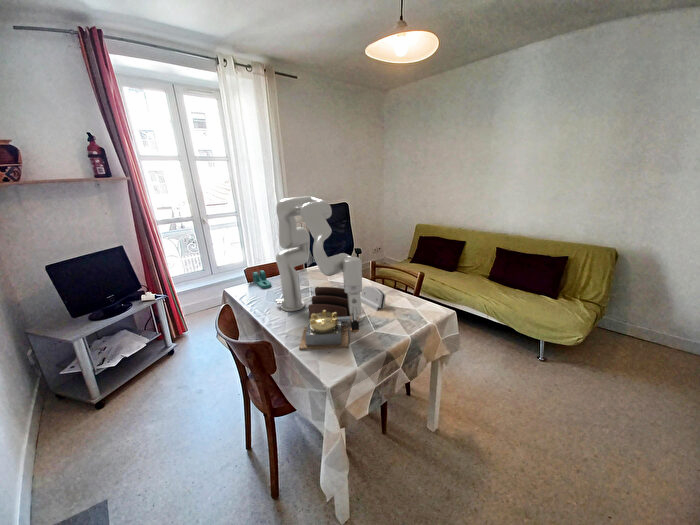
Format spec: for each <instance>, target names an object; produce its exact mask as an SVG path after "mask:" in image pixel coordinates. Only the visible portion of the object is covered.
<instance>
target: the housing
mask: <svg viewBox="0 0 700 525" xmlns="http://www.w3.org/2000/svg"><path fill="white" fill-rule="evenodd" d="M342 324H343V323H342V322H338V327H337V328H336V329H334V330H333V331H330V332H325V333H319V332H315V331H313V330H312V329H311V328H310V320H308V324H307V326H305V327H304V328H303V333H302V335H301V339H300V343H299V347H298V350H299V349H310V350H329V349H331V350H333V349H348V348H350V347H349V346H350V345H349V325H348V324H346V325H342Z"/></svg>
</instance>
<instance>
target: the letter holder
mask: <svg viewBox="0 0 700 525" xmlns="http://www.w3.org/2000/svg"><path fill="white" fill-rule="evenodd" d="M307 307H308V308H307V309H308V318H309V320H310V318H311V314H312V313H314V314H317V313H321V312H323V310H326V312H331V313H334V312H336V313H337V316H338V317H347V316H350V313H349V307H348V296H347V293H345V292H344V287H342V288H341V287H335V286H317V287H315V288H314V295H313V296H312V297H311V303H310V304H308V306H307ZM348 323H349V321H344V322H342V324H348Z"/></svg>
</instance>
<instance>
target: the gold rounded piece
mask: <svg viewBox="0 0 700 525" xmlns="http://www.w3.org/2000/svg"><path fill="white" fill-rule="evenodd" d="M356 314H357V313H356ZM353 318H354V316H353ZM359 318H360V317H359V315H358V321H359V322H360V319H359ZM309 321H310V328H311V329H312V330H313V331H315V332H319V333H325V332H330V331H333V330H334V329H336V328H337V327H338V322H344V321H348V322H349V323H351V321H352V317H351V316H347V317H338V316H337V313H336V312H334V313H331V312H326V310H323V312H321V313H317V314H314V313H312V314H311V318H310V319H309ZM350 331H351V332H352V333H357V332H359V331H360V329H359V330H352V329H351V328H350Z"/></svg>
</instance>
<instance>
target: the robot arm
mask: <svg viewBox="0 0 700 525" xmlns="http://www.w3.org/2000/svg"><path fill="white" fill-rule="evenodd" d="M275 208H276V209H275V210H276V216H277V220H278V221H277V222H278V243H279V246H280V248H281V249H284V250H281V251H279V252H278V253H277V254H276V256H275V262H276V265H277V269H278V272H279V278H280V285H281V292H282V298H281V299H280V298H279V299H275V304H276V305H281V306H280V307H281V308H280V309H281V310H282V311H284V312H297V311H299V310H301V309H303V308H305V301H304V300H303V299H302V293H301V292H302V291H301V285H300V284H301V283H300V275H299V272H298V271H297V270H296V269H295V267H297V266H301V265H304V264H307V262H308V260H309V258H310V247H311V246H310V244H311V242H310V240H311V239H310V238H311V237H310V234H311V236H312V238H313V244H312V255H313V260H314V261H315V263H316V265H317V267H318V269H319V271H320V272H321V273H322V274H323V275H324V276H326V277H332V276H335V275H337V274H340V273H343V274H342V275H343V289H344V292H345V293H347V296H348V307H349V313H350V316H351V317H352V321H351V322H350V330H351V329H352V330H359V331H360V320H359V321H358V315H359V316H361V317H362V316H363V315H362V302H361V296H360V295H361V292H362V290H363V272H362V270H363V267H362V260H361V258H360V257H358V256H351V255H349V254H347V253H345V252H342V253H341V252H340V253H338V254H334V255H332V256H328V255H327V254H326V251H325V250H324V242H325V241H326V240H327V239H329V237H330V236H331V234H332V230H333V229H332V227H331V226H330V224H329V223H328V220H327V219H330V218H331V216H332V215H333V213H332V212H333V210H332V206H331V205H330V203H328V202H327V201H326V200H324V199H320V198H317V197H314V196H310V195H308V196H307V195H306V196H296V197H287V198H282V199H280V200H279V201H278V202H277V204H276V207H275ZM299 216H301V218H302V220H303V222H304V223H305V225H306V227H307V228H305V227H303V226H299V227H298V225H297V223H298V222H297V219H296V217H299ZM308 231H309V232H310V234H309V232H308ZM356 313H357V314H356ZM353 316H354V318H353Z"/></svg>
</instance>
